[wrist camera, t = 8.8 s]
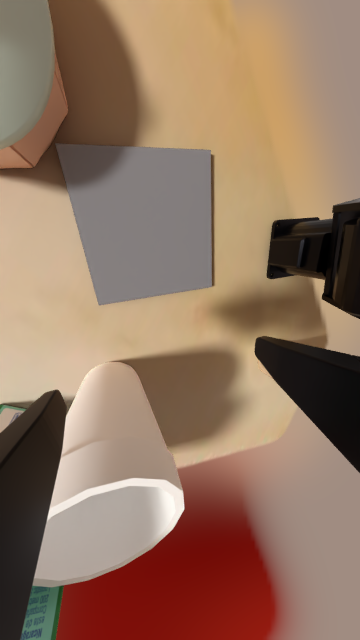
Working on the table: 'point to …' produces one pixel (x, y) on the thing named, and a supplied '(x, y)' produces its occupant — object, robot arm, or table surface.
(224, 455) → the table surface
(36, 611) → the milk carton
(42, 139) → the bowl
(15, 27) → the lid
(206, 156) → the mat
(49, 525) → the foam cup
